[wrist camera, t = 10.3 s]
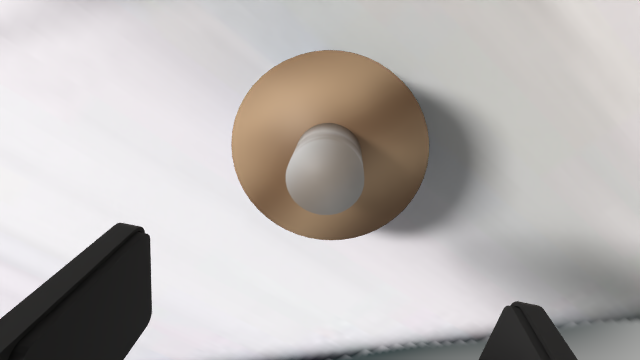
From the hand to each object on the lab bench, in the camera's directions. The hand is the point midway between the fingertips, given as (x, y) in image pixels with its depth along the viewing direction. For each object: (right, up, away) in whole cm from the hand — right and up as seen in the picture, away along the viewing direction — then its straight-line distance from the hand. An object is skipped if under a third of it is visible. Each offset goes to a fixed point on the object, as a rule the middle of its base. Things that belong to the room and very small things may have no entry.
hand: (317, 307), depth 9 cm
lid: (+1, +5, +13) cm, 14 cm away
